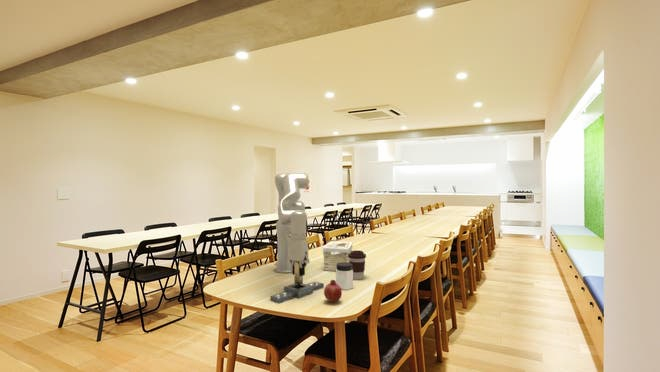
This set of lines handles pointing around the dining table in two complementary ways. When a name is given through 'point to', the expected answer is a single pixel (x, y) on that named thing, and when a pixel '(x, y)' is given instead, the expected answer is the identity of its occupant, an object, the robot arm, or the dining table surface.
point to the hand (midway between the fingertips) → (298, 274)
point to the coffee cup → (357, 264)
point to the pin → (297, 273)
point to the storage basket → (336, 254)
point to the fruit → (332, 291)
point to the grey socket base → (296, 291)
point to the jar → (344, 275)
